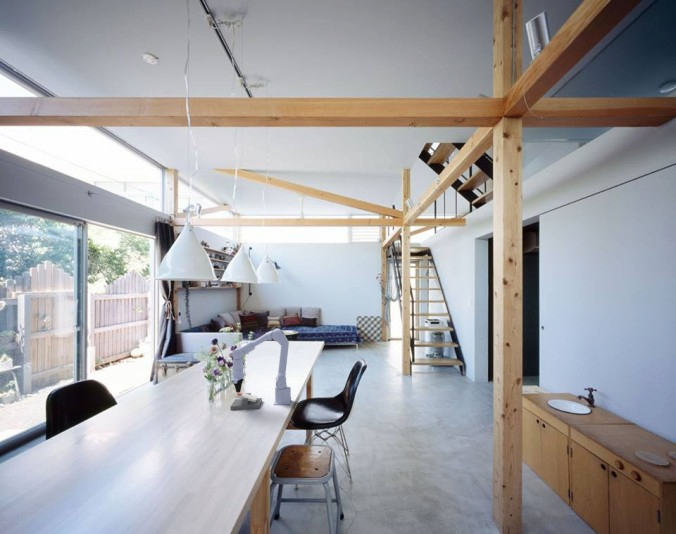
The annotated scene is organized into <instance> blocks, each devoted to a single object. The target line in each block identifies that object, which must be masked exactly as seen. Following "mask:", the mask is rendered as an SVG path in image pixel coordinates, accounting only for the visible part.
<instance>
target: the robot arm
mask: <svg viewBox="0 0 676 534" xmlns="http://www.w3.org/2000/svg"><path fill="white" fill-rule="evenodd" d="M272 340H273V341H274V342H277V343H278V344H279V345H280V354H279V362H278V364H279V365H278V370H277V375H276V377H275V386H274V396H275V397H274V398H275V399H274V402H273V406H280V405H291V400H292V397H291V394H292V393H291V386H288V385H287V378H286V376H287V375H286V374H287V363H288V354H289V344H290V343H289V340H288V338H287V337H286V335H285V332H284V331H283V330H282V329H280V328H274V329H273V330H270V331H268V332H267V333H265V334H263V335H261V336H260V337H258V338H257V339H255V340H254V341H251V340H250V341H245V343H244V344H242V345H239V346H238V347H237V348H235V349H234V350H233V352H232V359H233V360H232V375H231V376H230V378H231V379H233V380H232V384H233V386H234V388H235V392H236V394H237V393H238V392H240V393H241V391H242V385H243V382H244V378H245V377H244V358H243V357H244V356H246V355H248V354H249V353H252V351H254V350H255V349H256V347H257V346H259V345H261V344H263V343H264V342H266V341H272Z"/></svg>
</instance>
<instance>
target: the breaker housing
mask: <svg viewBox="0 0 676 534" xmlns="http://www.w3.org/2000/svg"><path fill="white" fill-rule="evenodd" d="M245 394H249V395H252V393H251V392H246V393H245ZM262 403H263V398H262V397H260V398H259V397H257V400H256V402H252V401H248V398H243V399H239V398H236V399H234V400H233V402H232V403H231V405H230V411H236V410H237V411H238V410H257V409H260V407H261V405H262Z"/></svg>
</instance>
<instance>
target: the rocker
mask: <svg viewBox="0 0 676 534" xmlns="http://www.w3.org/2000/svg"><path fill="white" fill-rule="evenodd" d="M235 398H236V399H243V398H248V401H252V402H256V400H257V398H259V397H258V396H257V395H254V394H251V395H249V394H246V393H244V392H241V391H240V392H238V393H236V394H235Z"/></svg>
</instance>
